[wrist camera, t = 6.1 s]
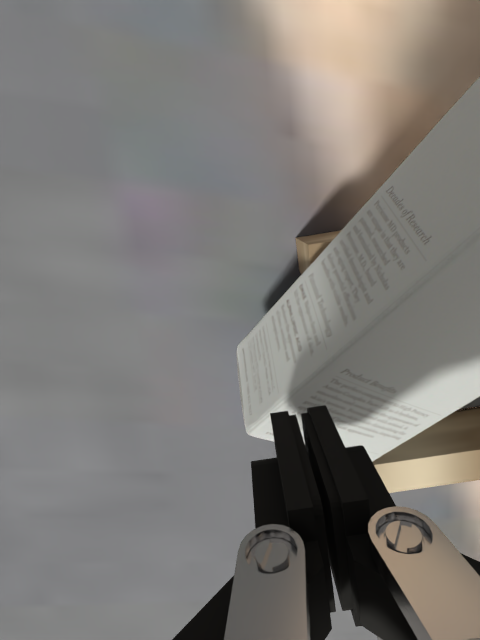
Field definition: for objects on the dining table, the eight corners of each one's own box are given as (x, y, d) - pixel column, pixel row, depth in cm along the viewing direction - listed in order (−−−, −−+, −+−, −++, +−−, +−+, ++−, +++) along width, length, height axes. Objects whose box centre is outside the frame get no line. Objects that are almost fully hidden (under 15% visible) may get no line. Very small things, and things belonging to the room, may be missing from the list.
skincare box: (334, 385, 19) (592, 175, 13) (365, 476, 16) (730, 256, 10) (226, 345, 17) (485, 51, 10) (237, 445, 13) (627, 107, 7)
